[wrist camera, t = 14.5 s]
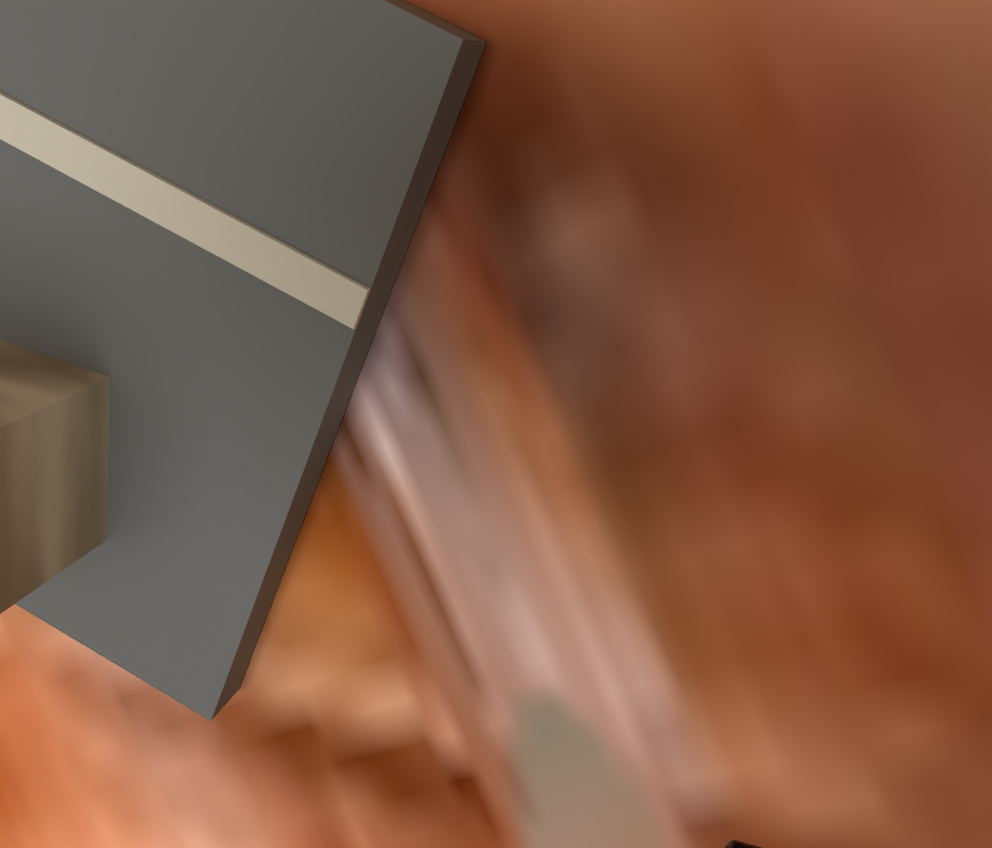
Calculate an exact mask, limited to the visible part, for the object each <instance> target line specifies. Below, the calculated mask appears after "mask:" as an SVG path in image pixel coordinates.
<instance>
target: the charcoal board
mask: <svg viewBox="0 0 992 848" xmlns="http://www.w3.org/2000/svg"><path fill="white" fill-rule="evenodd" d="M485 44H486V41H485V40H483V39H481V38H479V37H477V36H475V35H473V34H470V33H468V32H466V31H464V30H462V29H460V28H458V27H456V26H454V25H452V24H450V23H448V22H446V21H444V20H442V19H440V18H438V17H436V16H434V15H432V14H430V13H428V12H426V11H424V10H422V9H420V8H418V7H416V6H414V5H412V4H410V3H408V2H406V1H404V0H0V339H1V340H4V341H7V342H10V343H13V344H16V345H19V346H22V347H25V348H28V349H31V350H34V351H36V352H39V353H42V354H45V355H48V356H51V357H54V358H57V359H60V360H63V361H66V362H68V363H71V364H74V365H77V366H80V367H83V368H86V369H89V370H92V371H95V372H98V373H100V374H103V375H106V376H109V377H111V380H110V419H109V458H108V497H107V537H106V541H105V542H103V543H102V544H100V545H99V546H97V547H96V548H94V549H93V550H92V551H90V552H89V553H87V554H86V555H84V556H83V557H81V558H80V559H79V560H77V561H76V562H74V563H73V564H71V565H70V566H69V567H67V568H66V569H64V570H63V571H61V572H60V573H58V574H57V575H56V576H54V577H53V578H51V579H50V580H48V581H47V582H45V583H44V584H43V585H41V586H40V587H38V588H37V589H35V590H34V591H32V592H31V593H30V594H28V595H27V596H25V597H24V598H22V599H21V600H20V601H18V602H17V603H15V604H16V605H18V606H20V607H21V608H23V609H25V610H26V611H28V612H30V613H31V614H33V615H35V616H36V617H38V618H40V619H41V620H43V621H45V622H46V623H48V624H50V625H51V626H53V627H55V628H56V629H58V630H60V631H61V632H63V633H65V634H66V635H68V636H70V637H71V638H73V639H75V640H76V641H78V642H80V643H81V644H83V645H85V646H86V647H88V648H90V649H91V650H93V651H95V652H96V653H98V654H100V655H101V656H103V657H105V658H106V659H108V660H110V661H111V662H113V663H115V664H116V665H118V666H120V667H121V668H123V669H125V670H126V671H128V672H130V673H131V674H133V675H135V676H136V677H138V678H140V679H141V680H143V681H145V682H146V683H148V684H150V685H151V686H153V687H155V688H156V689H158V690H160V691H161V692H163V693H165V694H166V695H168V696H170V697H171V698H173V699H175V700H176V701H178V702H180V703H181V704H183V705H185V706H186V707H188V708H190V709H192V710H193V711H195V712H197V713H198V714H200V715H202V716H203V717H205V718H207V719H208V720H210V721H211V720H212V719H213V718H214V717H215V716H216V715H217V714H218V712H219V711H220V710H221V709H222V708H223V707H224V706H225V704H226V703H227V702H228V701H229V700H230V699H231V698H232V697H233V695H234V694H235V693H236V692H237V691H238V690H239V688H240V685H241V682H242V680H243V677H244V675H245V672H246V669H247V667H248V664H249V661H250V659H251V656H252V654H253V651H254V648H255V646H256V643H257V641H258V638H259V635H260V633H261V630H262V627H263V625H264V622H265V620H266V617H267V614H268V612H269V609H270V606H271V604H272V601H273V599H274V596H275V593H276V591H277V588H278V586H279V583H280V580H281V578H282V575H283V572H284V570H285V567H286V565H287V562H288V559H289V557H290V554H291V552H292V549H293V546H294V544H295V541H296V538H297V536H298V533H299V531H300V528H301V525H302V523H303V520H304V518H305V515H306V512H307V510H308V507H309V504H310V502H311V499H312V497H313V494H314V491H315V489H316V486H317V484H318V481H319V478H320V476H321V473H322V470H323V468H324V465H325V463H326V460H327V457H328V455H329V452H330V450H331V447H332V444H333V442H334V439H335V436H336V434H337V431H338V429H339V426H340V423H341V421H342V418H343V416H344V413H345V410H346V408H347V405H348V402H349V400H350V397H351V395H352V392H353V389H354V387H355V384H356V382H357V379H358V376H359V374H360V371H361V368H362V366H363V363H364V361H365V358H366V355H367V353H368V350H369V348H370V345H371V342H372V340H373V337H374V334H375V332H376V329H377V327H378V324H379V321H380V319H381V316H382V314H383V311H384V308H385V306H386V303H387V300H388V298H389V295H390V293H391V290H392V287H393V285H394V282H395V279H396V277H397V274H398V272H399V269H400V266H401V264H402V261H403V259H404V256H405V253H406V251H407V248H408V245H409V243H410V240H411V238H412V235H413V232H414V230H415V227H416V225H417V222H418V219H419V217H420V214H421V211H422V209H423V206H424V204H425V201H426V198H427V196H428V193H429V191H430V188H431V185H432V183H433V180H434V177H435V175H436V172H437V170H438V167H439V164H440V162H441V159H442V157H443V154H444V151H445V149H446V146H447V143H448V141H449V138H450V136H451V133H452V130H453V128H454V125H455V123H456V120H457V117H458V115H459V112H460V109H461V107H462V104H463V102H464V99H465V96H466V94H467V91H468V89H469V86H470V83H471V81H472V78H473V75H474V73H475V70H476V68H477V65H478V62H479V60H480V57H481V55H482V52H483V49H484V47H485Z"/></svg>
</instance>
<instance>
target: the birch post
mask: <svg viewBox="0 0 992 848" xmlns="http://www.w3.org/2000/svg"><path fill="white" fill-rule="evenodd" d="M110 380H111V377H109V376H106V375H103V374H100V373H98V372H95V371H92V370H89V369H86V368H83V367H80V366H77V365H74V364H71V363H68V362H66V361H63V360H60V359H57V358H54V357H51V356H48V355H45V354H42V353H39V352H36V351H34V350H31V349H28V348H25V347H22V346H19V345H16V344H13V343H10V342H7V341H4V340H1V339H0V614H1V613H2V612H4V611H5V610H7V609H8V608H9V607H11V606H12V605H14V604H15V603H17V602H18V601H20V600H21V599H22V598H24V597H25V596H27V595H28V594H30V593H31V592H32V591H34V590H35V589H37V588H38V587H40V586H41V585H43V584H44V583H45V582H47V581H48V580H50V579H51V578H53V577H54V576H56V575H57V574H58V573H60V572H61V571H63V570H64V569H66V568H67V567H69V566H70V565H71V564H73V563H74V562H76V561H77V560H79V559H80V558H81V557H83V556H84V555H86V554H87V553H89V552H90V551H92V550H93V549H94V548H96V547H97V546H99V545H100V544H102V543H103V542H105V541H106V537H107V497H108V458H109V419H110Z"/></svg>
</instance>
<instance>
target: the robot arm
mask: <svg viewBox="0 0 992 848" xmlns="http://www.w3.org/2000/svg"><path fill="white" fill-rule="evenodd" d="M725 848H761V847H758V846H754V845H751V844H747V843H744V842H740V841H737V840H732V841H729V843H728V844H727V845H726V846H725Z"/></svg>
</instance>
